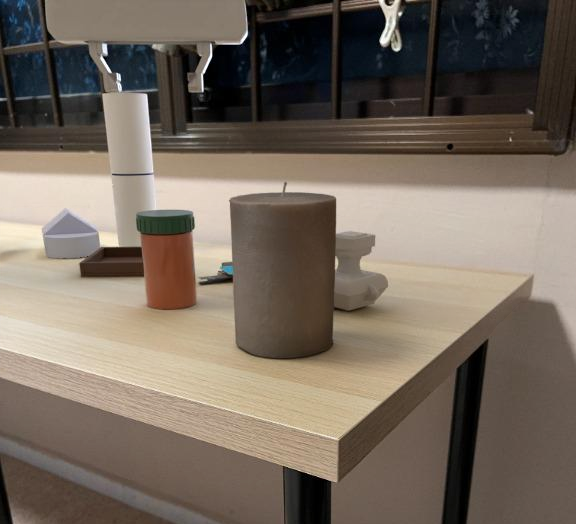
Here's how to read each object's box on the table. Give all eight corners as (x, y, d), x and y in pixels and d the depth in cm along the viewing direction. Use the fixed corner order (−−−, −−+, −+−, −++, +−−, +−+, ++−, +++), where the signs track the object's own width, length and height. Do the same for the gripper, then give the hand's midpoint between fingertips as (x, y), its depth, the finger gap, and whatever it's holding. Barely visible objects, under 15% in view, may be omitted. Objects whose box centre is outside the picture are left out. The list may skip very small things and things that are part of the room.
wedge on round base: (44, 247, 110) (46, 260, 99) (38, 209, 108) (39, 217, 97) (96, 244, 113) (103, 256, 102) (91, 206, 111) (98, 214, 100)
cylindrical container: (134, 252, 105) (118, 92, 95) (111, 248, 109) (93, 94, 100) (167, 247, 110) (155, 94, 100) (144, 243, 114) (130, 95, 105)
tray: (80, 276, 88) (78, 263, 87) (102, 259, 100) (101, 246, 99) (166, 275, 88) (165, 261, 87) (177, 258, 100) (176, 246, 99)
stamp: (300, 304, 73) (301, 232, 70) (338, 294, 77) (340, 226, 74) (357, 319, 67) (360, 242, 63) (395, 308, 71) (400, 235, 68)
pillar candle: (340, 331, 63) (344, 178, 57) (324, 363, 54) (327, 187, 48) (250, 325, 65) (245, 177, 59) (220, 355, 56) (211, 185, 50)
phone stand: (214, 294, 78) (213, 281, 77) (189, 276, 88) (188, 264, 87) (351, 279, 85) (352, 267, 84) (314, 264, 95) (314, 253, 94)
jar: (142, 309, 71) (133, 221, 67) (151, 297, 76) (143, 214, 73) (194, 309, 71) (188, 220, 67) (199, 296, 77) (194, 213, 73)
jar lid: (132, 234, 67) (130, 216, 67) (142, 226, 73) (141, 209, 73) (191, 233, 68) (190, 216, 67) (197, 225, 74) (196, 209, 73)
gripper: (23, -75, 56) (46, 90, 62) (244, -73, 57) (248, 90, 62) (45, -56, 62) (65, 94, 68) (245, -54, 63) (249, 93, 68)
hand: (154, 92), depth 65 cm, fingers open, 7 cm apart
